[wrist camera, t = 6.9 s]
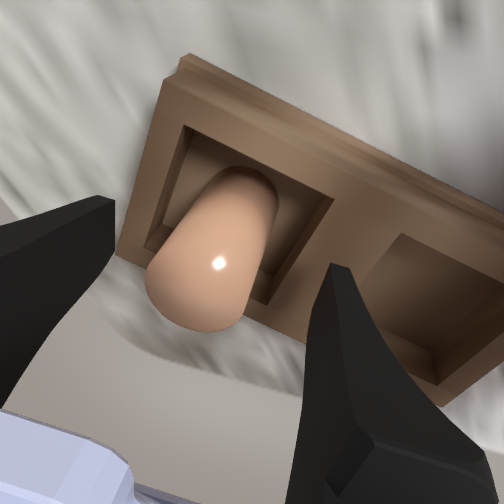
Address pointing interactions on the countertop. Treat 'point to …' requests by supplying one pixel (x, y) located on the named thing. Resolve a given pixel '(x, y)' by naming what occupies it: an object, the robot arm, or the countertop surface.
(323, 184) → the rack
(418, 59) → the countertop surface
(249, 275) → the clay rod
